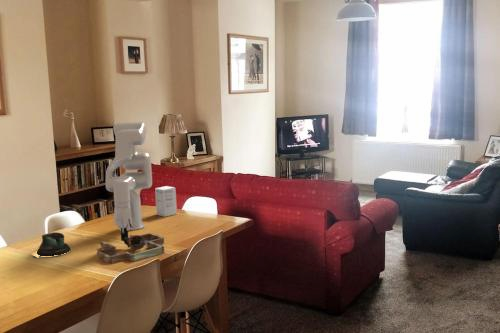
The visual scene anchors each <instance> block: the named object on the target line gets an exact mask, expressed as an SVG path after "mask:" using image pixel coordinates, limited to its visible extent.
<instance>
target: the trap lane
mask: <svg viewBox="0 0 500 333" xmlns="http://www.w3.org/2000/svg"><path fill="white" fill-rule="evenodd" d="M134 235H135V234H129V238H130V237H131V236H134ZM140 236H142V237H143V238H144V240H145V241H144V242H145V243H146V245H145V246H146V247H147V249H146V250H142V251H140V252H135V253H132V252H130V251H129V252H128V251H126V252H123V253H122V252H121V253H119V254H117V246H114V245H112V244H110V243H108V242H105V241H100V248H101V249H99V250H97V251H96V257H97V259H99V260H101V261H102V262H105V263H108V264H110V263H111V264H115V263H119V262H121V261H126V260H128V261H129V262H135V261H136V262H137V261H140V260H143V259H147V258H150V257H153V256H154V257H155V256H157V255H160V254H164V253H165V246H163V245H164V244H165V237H164V236H161V235H158V234H155V233H151V232H148V233H144V234H141V235H140ZM131 240H132V239H131ZM142 241H143V240H142V239H141V240H140V242H142Z"/></svg>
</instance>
